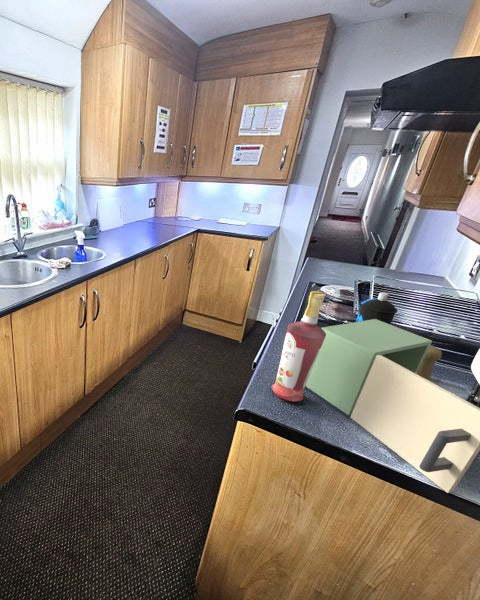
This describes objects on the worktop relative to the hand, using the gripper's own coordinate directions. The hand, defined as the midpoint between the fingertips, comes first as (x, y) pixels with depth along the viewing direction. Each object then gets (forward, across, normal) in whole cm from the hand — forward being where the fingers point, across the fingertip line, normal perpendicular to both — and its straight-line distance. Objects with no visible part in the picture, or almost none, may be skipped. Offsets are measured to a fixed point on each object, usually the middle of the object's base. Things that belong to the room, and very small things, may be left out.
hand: (473, 419), depth 57 cm
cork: (+13, +37, 0) cm, 39 cm away
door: (+13, 0, +8) cm, 15 cm away
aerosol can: (+13, +47, +11) cm, 50 cm away
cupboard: (+13, +20, +13) cm, 27 cm away
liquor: (+13, +8, +26) cm, 30 cm away
